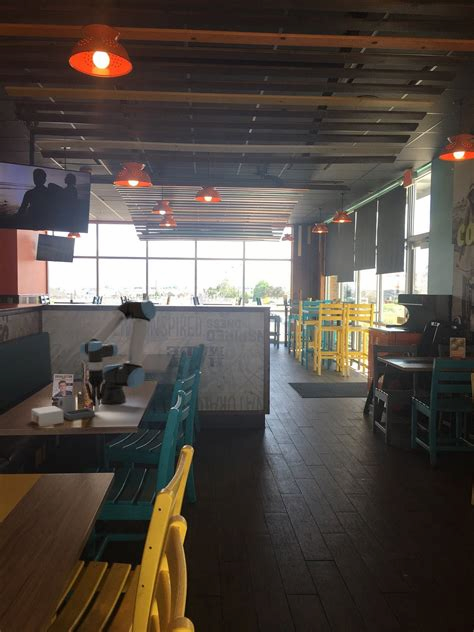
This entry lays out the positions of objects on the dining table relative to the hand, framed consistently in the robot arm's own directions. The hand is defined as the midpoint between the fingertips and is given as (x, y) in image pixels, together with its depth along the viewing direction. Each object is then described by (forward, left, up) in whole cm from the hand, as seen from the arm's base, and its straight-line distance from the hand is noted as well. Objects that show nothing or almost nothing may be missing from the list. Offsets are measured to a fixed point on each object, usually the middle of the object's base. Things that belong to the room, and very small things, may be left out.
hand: (96, 411), depth 290 cm
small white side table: (+27, 0, -2) cm, 27 cm away
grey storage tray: (+10, 0, -2) cm, 10 cm away
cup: (+11, -17, -2) cm, 20 cm away
